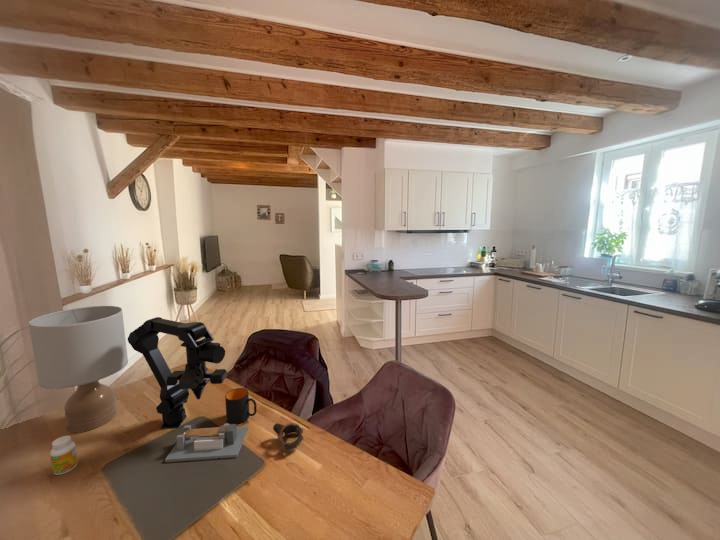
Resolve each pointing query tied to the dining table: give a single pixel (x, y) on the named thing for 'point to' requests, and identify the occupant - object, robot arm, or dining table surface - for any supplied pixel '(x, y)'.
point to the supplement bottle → (63, 455)
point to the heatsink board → (208, 445)
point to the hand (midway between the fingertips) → (199, 398)
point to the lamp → (81, 360)
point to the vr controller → (288, 429)
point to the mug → (238, 406)
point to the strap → (205, 431)
